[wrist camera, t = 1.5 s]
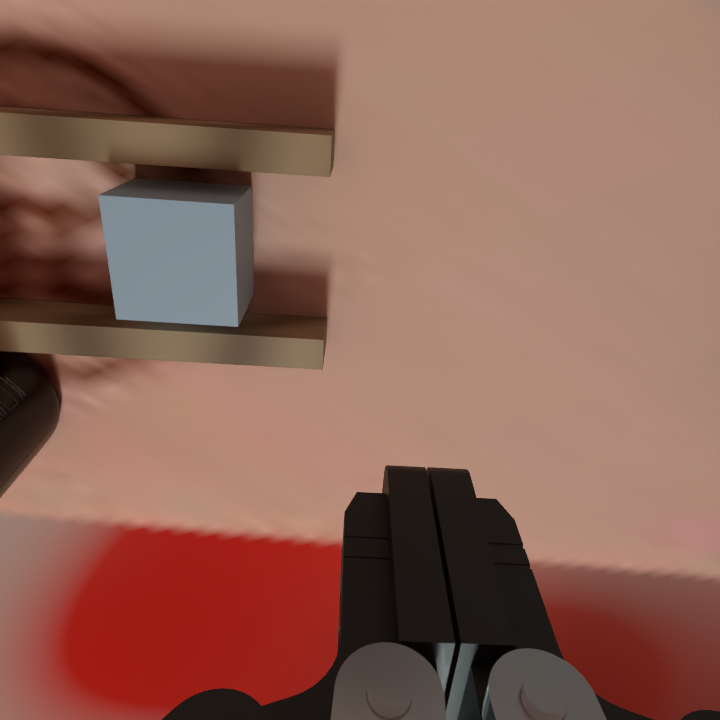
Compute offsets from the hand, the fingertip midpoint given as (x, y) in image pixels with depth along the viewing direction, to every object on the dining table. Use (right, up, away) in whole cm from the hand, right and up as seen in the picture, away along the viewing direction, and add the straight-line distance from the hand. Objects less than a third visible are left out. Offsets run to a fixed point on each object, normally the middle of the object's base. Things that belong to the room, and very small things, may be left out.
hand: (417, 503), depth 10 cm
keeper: (-9, +8, +15) cm, 19 cm away
